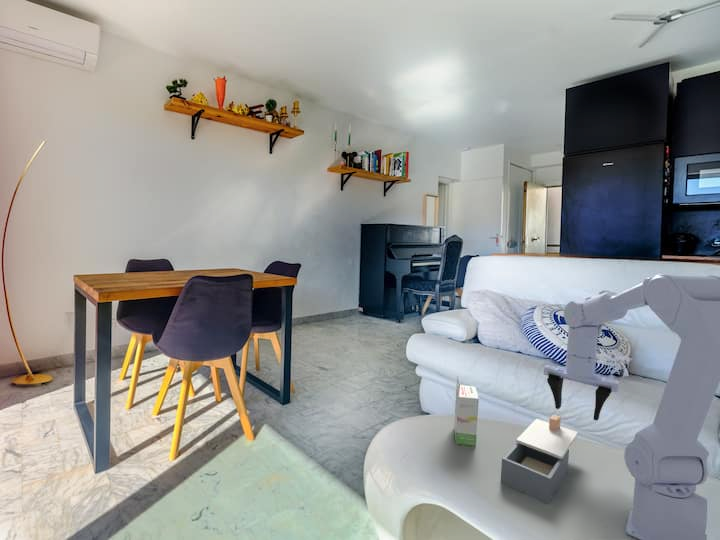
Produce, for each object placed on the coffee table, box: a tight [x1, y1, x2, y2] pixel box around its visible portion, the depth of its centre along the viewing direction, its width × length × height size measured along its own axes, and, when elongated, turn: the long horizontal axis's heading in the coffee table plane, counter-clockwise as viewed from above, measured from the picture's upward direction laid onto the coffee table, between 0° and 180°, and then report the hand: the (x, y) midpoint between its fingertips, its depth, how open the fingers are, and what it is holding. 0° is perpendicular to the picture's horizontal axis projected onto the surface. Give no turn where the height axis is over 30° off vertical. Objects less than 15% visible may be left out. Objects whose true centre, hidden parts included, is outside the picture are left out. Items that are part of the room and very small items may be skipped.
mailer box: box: [500, 442, 570, 505], centre depth 76 cm, size 9×14×5 cm, turn 138°
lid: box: [515, 414, 579, 459], centre depth 82 cm, size 9×14×3 cm, turn 138°
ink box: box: [453, 374, 480, 447], centre depth 91 cm, size 9×5×15 cm, turn 168°
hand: (576, 413), depth 84 cm, fingers open, 7 cm apart
